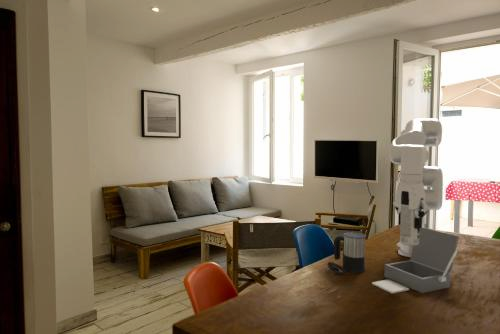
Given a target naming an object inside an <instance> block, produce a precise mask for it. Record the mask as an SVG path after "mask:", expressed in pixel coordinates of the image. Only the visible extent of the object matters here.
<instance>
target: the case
mask: <svg viewBox="0 0 500 334" xmlns="http://www.w3.org/2000/svg"><path fill="white" fill-rule="evenodd" d="M459 238H460V237H459V236H457V235H454V234H450V233H446V232H442V231H439V230H438V231H437V230H432V229H429V228H425V227H424V228H420V231H419V245H417V246H413V249H412V254H411V257H409V258H410V259H409V260H403V261H397V262H392V263H385V264H384V272H383V273H384V274H383V275H384V278H386V279H387V280H391V281H393V282H395V283H398V284H400V285H402V286H404V287H407V288H409V289H411V290H414V291H416V292H417V293H420V294H425V293H430V292H434V291H435V292H436V291H438V290H445V289H449V288H450V287H451V286H450V285H451V276H452V270H453V266H454V261H455V258H456V255H457V253H458V250H457V248H458V243H459Z"/></svg>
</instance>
